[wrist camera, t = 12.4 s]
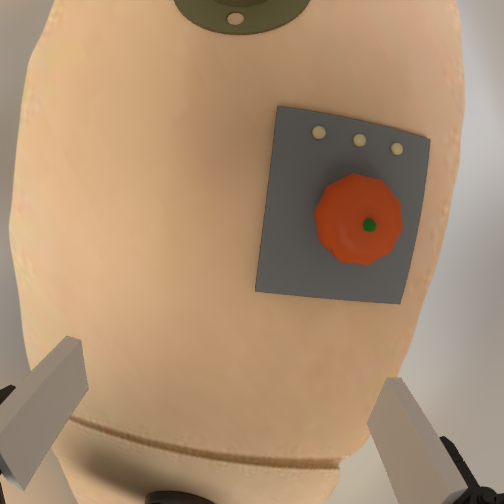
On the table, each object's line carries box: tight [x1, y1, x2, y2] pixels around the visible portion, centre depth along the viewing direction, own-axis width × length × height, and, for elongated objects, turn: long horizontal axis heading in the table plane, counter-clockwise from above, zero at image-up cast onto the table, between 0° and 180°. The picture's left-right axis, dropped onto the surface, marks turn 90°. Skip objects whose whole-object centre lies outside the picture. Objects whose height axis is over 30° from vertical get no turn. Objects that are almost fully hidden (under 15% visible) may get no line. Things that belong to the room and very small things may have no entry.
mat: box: [255, 106, 430, 304], centre depth 30 cm, size 18×16×1 cm
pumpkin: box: [314, 174, 403, 266], centre depth 26 cm, size 8×8×7 cm
